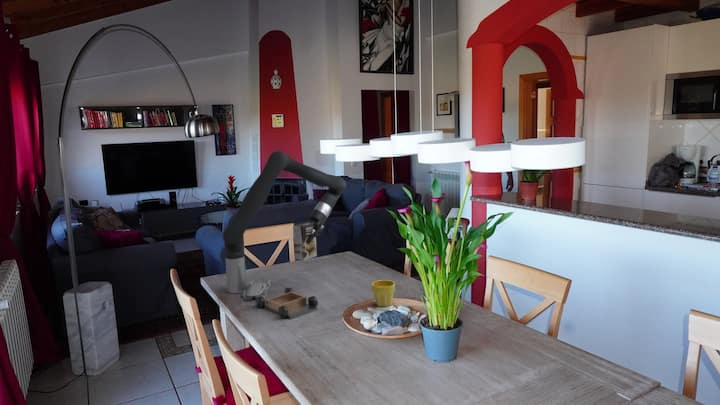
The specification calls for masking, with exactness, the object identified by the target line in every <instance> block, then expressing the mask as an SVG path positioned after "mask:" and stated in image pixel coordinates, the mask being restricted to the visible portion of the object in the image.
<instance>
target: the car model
mask: <svg viewBox="0 0 720 405" xmlns="http://www.w3.org/2000/svg"><path fill="white" fill-rule="evenodd" d="M271 287H272V280H271V279H268V280H267V283H265V282H261V281H259V282H256V283H255V280H250V282H249V287H248V288H247V290H244V291H243V292H242V297H243V299H244V300H245V301H251V300H256V298H257V297H259V296H262V297H263V298H264V299H266V298H267V297H268V295H269V294H268V292H269V291H268V290H269V288H271Z"/></svg>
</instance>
